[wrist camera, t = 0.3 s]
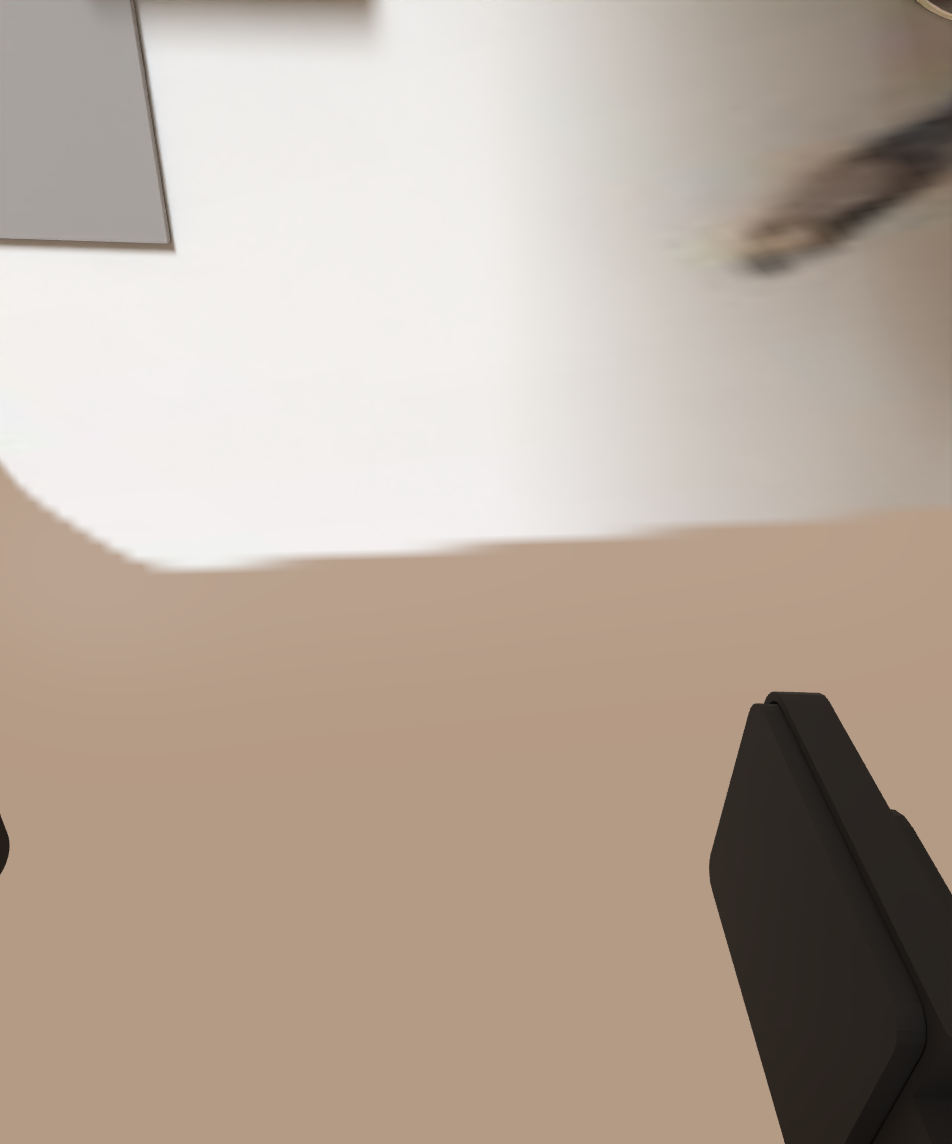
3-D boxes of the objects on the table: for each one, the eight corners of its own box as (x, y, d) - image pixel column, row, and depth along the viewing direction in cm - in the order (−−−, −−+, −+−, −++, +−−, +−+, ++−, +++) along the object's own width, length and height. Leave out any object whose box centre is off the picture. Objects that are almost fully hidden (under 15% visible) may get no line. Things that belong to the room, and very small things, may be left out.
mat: (-123, -34, 29) (-130, -35, 29) (129, -24, 29) (125, -25, 29) (-47, 234, 34) (-52, 236, 34) (170, 242, 34) (167, 243, 34)
